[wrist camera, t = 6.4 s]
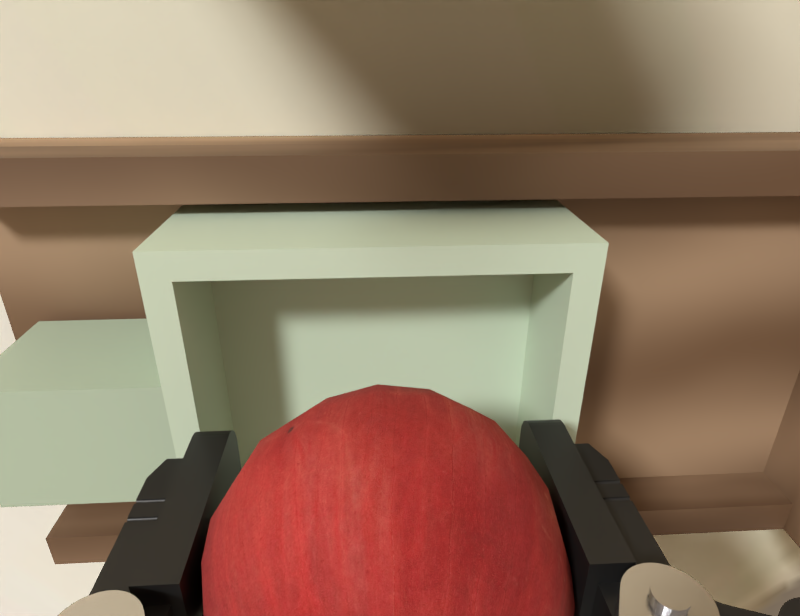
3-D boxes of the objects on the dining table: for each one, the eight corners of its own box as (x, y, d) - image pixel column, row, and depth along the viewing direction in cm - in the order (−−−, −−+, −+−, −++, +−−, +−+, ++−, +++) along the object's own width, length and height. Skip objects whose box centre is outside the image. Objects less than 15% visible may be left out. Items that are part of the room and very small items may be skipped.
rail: (-16, 138, 14) (-239, 197, 9) (891, 131, 15) (1162, 178, 10) (94, 497, 18) (-7, 669, 13) (769, 468, 20) (908, 616, 15)
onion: (527, 490, 14) (710, 989, 7) (302, 546, 14) (239, 1078, 7) (479, 278, 11) (690, 708, 4) (207, 352, 12) (-50, 868, 4)
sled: (3, 207, 13) (-100, 255, 10) (556, 199, 14) (608, 242, 11) (93, 500, 17) (37, 596, 14) (521, 481, 17) (553, 569, 14)
